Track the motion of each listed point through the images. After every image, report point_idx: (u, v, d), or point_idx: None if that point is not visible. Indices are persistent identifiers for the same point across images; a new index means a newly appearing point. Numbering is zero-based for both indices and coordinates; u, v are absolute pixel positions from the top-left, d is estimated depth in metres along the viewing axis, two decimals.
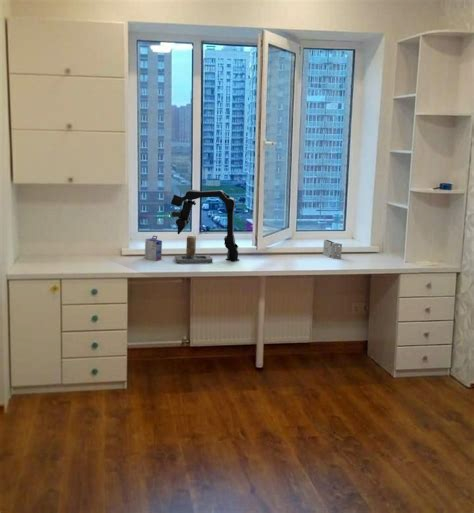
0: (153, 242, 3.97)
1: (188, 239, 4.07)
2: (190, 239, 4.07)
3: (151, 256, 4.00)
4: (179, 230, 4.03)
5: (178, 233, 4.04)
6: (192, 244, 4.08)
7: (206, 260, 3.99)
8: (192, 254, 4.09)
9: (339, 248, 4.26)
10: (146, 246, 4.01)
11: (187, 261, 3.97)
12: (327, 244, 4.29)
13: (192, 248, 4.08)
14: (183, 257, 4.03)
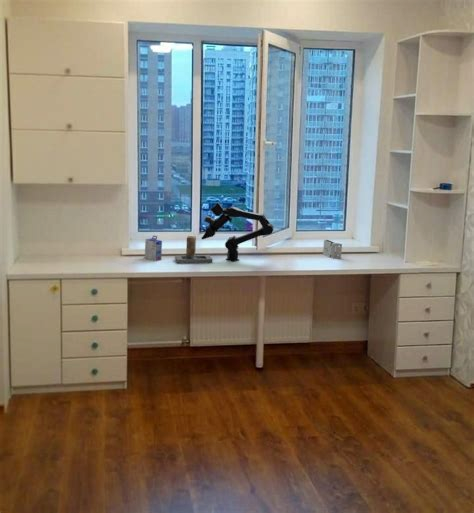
0: (153, 242, 3.97)
1: (188, 239, 4.07)
2: (190, 239, 4.07)
3: (151, 256, 4.00)
4: (204, 236, 4.02)
5: (202, 238, 4.03)
6: (192, 244, 4.08)
7: (206, 260, 3.99)
8: (192, 254, 4.09)
9: (339, 248, 4.26)
10: (146, 246, 4.01)
11: (187, 261, 3.97)
12: (327, 244, 4.29)
13: (192, 248, 4.08)
14: (183, 257, 4.03)
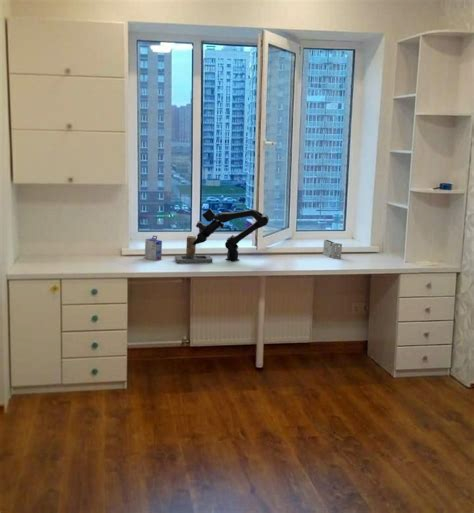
0: (153, 242, 3.97)
1: (188, 239, 4.07)
2: (190, 239, 4.07)
3: (151, 256, 4.00)
4: (196, 242, 4.04)
5: (193, 244, 4.05)
6: (192, 244, 4.08)
7: (206, 260, 3.99)
8: (192, 254, 4.09)
9: (339, 248, 4.26)
10: (146, 246, 4.01)
11: (187, 261, 3.97)
12: (327, 244, 4.29)
13: (192, 248, 4.08)
14: (183, 257, 4.03)
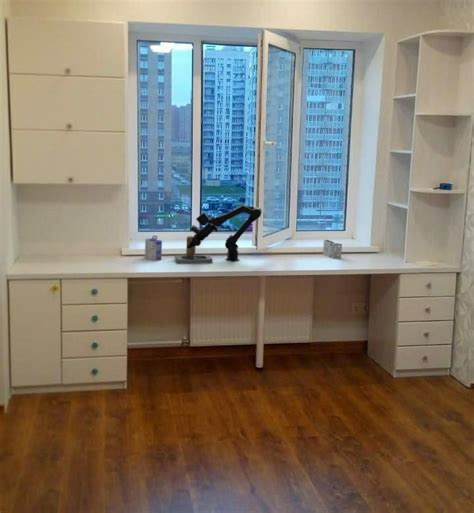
0: (153, 242, 3.97)
1: (188, 239, 4.07)
2: (190, 239, 4.07)
3: (151, 256, 4.00)
4: (191, 245, 4.06)
5: (188, 247, 4.08)
6: None
7: (206, 260, 3.99)
8: (192, 254, 4.09)
9: (339, 248, 4.26)
10: (146, 246, 4.01)
11: (187, 261, 3.97)
12: (327, 244, 4.29)
13: (192, 248, 4.08)
14: (183, 257, 4.03)
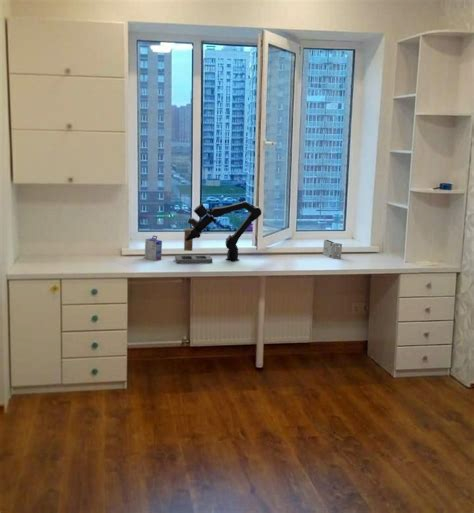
0: (153, 242, 3.97)
1: (186, 232, 4.00)
2: (188, 232, 4.00)
3: (151, 256, 4.00)
4: (189, 238, 4.00)
5: (186, 240, 4.01)
6: None
7: (206, 260, 3.99)
8: (190, 247, 4.03)
9: (339, 248, 4.26)
10: (146, 246, 4.01)
11: (187, 261, 3.97)
12: (327, 244, 4.29)
13: (190, 241, 4.02)
14: (183, 257, 4.03)
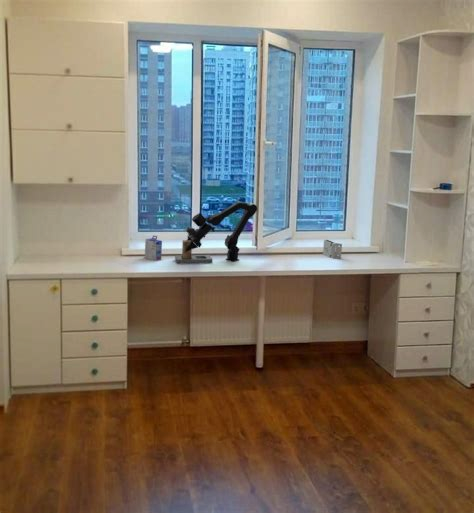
0: (153, 242, 3.97)
1: (185, 243, 3.96)
2: (187, 243, 3.96)
3: (151, 256, 4.00)
4: (189, 248, 3.94)
5: (186, 250, 3.95)
6: None
7: (206, 260, 3.99)
8: (189, 258, 3.99)
9: (339, 248, 4.26)
10: (146, 246, 4.01)
11: (187, 261, 3.97)
12: (327, 244, 4.29)
13: (189, 252, 3.98)
14: None
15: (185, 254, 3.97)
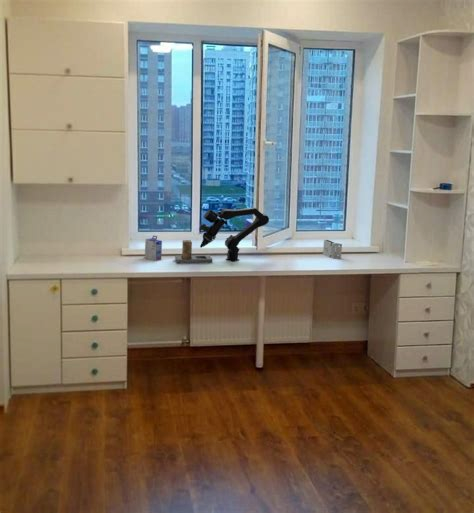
0: (153, 242, 3.97)
1: (185, 243, 3.96)
2: (187, 243, 3.96)
3: (151, 256, 4.00)
4: (203, 244, 3.97)
5: (200, 246, 3.98)
6: (189, 248, 3.97)
7: (206, 260, 3.99)
8: (189, 258, 3.99)
9: (339, 248, 4.26)
10: (146, 246, 4.01)
11: (187, 261, 3.97)
12: (327, 244, 4.29)
13: (189, 252, 3.98)
14: None
15: (185, 254, 3.97)
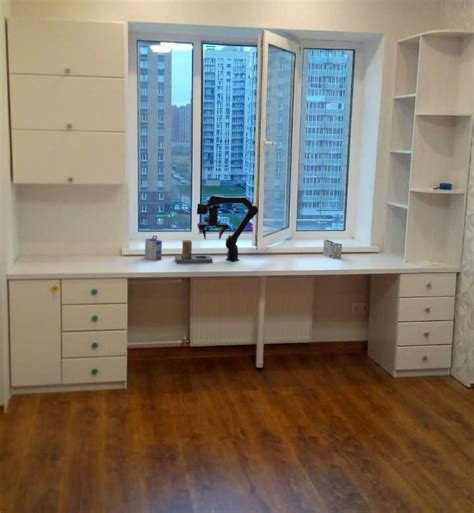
0: (153, 242, 3.97)
1: (185, 243, 3.96)
2: (187, 243, 3.96)
3: (151, 256, 4.00)
4: None
5: (204, 238, 4.04)
6: (189, 248, 3.97)
7: (206, 260, 3.99)
8: (189, 258, 3.99)
9: (339, 248, 4.26)
10: (146, 246, 4.01)
11: (187, 261, 3.97)
12: (327, 244, 4.29)
13: (189, 252, 3.98)
14: None
15: (185, 254, 3.97)
